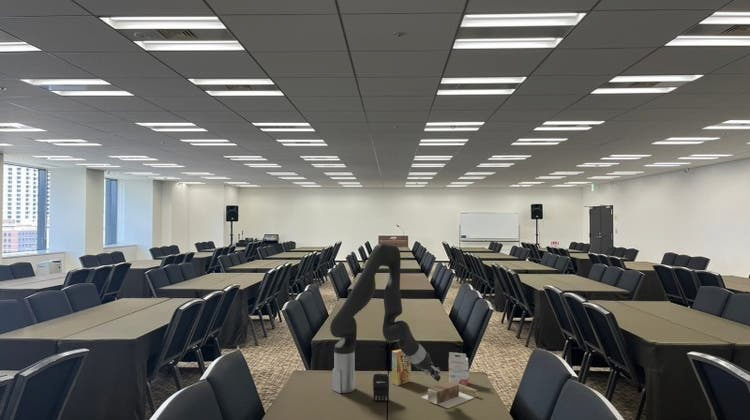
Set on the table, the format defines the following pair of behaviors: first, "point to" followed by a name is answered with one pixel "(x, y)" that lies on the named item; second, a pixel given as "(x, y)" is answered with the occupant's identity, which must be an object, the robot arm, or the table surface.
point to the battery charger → (381, 387)
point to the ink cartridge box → (458, 368)
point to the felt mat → (453, 400)
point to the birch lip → (467, 390)
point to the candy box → (400, 368)
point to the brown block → (443, 392)
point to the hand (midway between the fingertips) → (438, 379)
